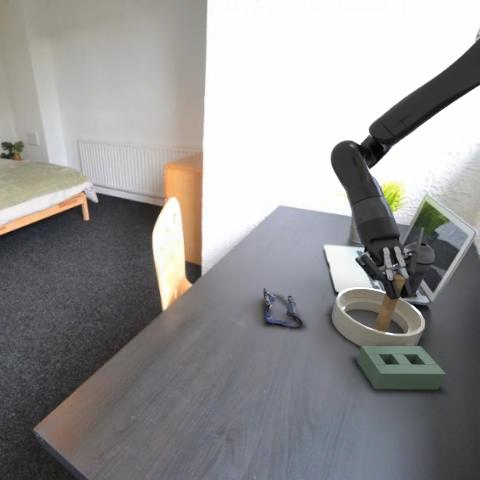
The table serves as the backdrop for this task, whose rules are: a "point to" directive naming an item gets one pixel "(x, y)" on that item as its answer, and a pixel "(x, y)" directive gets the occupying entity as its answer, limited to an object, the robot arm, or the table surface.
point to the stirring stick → (388, 307)
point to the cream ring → (372, 301)
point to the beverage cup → (420, 262)
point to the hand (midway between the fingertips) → (400, 298)
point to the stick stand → (400, 367)
